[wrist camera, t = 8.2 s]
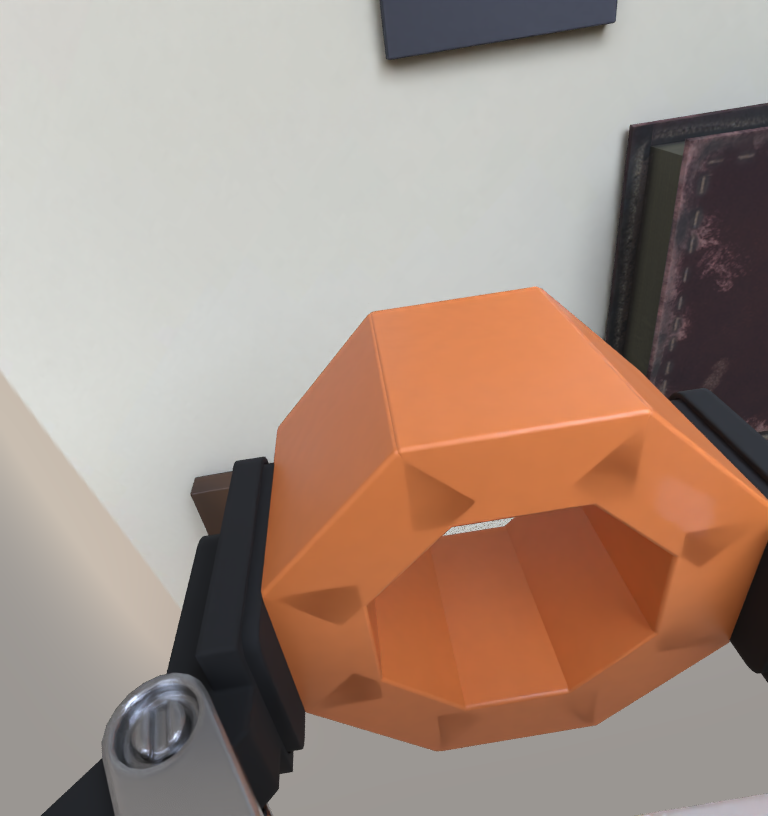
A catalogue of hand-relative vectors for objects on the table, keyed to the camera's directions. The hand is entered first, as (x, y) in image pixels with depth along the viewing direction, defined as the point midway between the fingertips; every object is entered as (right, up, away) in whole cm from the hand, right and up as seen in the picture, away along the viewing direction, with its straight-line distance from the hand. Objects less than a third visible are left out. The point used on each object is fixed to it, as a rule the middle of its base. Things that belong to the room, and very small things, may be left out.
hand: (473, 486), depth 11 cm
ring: (0, +1, +1) cm, 1 cm away
